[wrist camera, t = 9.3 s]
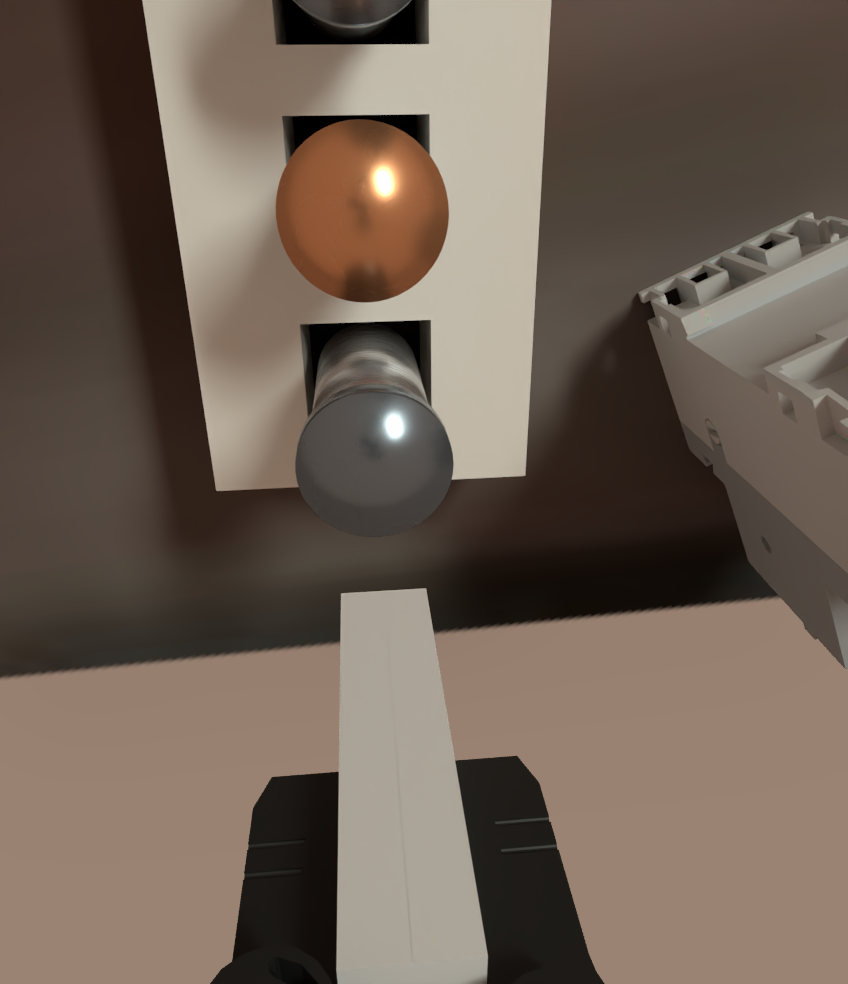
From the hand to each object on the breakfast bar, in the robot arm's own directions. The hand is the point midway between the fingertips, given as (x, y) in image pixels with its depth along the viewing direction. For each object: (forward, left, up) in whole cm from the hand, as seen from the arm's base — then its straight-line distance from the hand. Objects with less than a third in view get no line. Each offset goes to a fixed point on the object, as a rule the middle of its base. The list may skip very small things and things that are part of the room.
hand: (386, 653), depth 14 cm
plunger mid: (-7, 0, -18) cm, 19 cm away
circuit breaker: (+3, +18, -21) cm, 28 cm away
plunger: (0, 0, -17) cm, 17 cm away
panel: (-7, 0, -20) cm, 21 cm away
